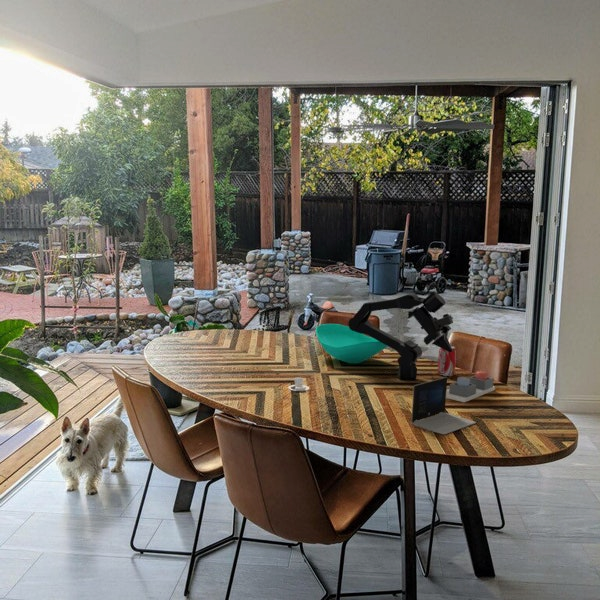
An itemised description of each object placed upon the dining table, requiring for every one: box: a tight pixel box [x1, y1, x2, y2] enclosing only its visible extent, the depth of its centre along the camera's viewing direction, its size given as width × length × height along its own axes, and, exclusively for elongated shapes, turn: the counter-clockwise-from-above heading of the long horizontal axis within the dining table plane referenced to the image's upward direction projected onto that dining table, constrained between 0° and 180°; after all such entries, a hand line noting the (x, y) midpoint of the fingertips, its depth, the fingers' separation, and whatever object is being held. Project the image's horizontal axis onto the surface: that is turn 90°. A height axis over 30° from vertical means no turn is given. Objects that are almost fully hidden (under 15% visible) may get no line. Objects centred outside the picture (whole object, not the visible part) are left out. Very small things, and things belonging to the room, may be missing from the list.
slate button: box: [456, 376, 470, 387], centre depth 236 cm, size 4×4×5 cm
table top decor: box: [315, 323, 388, 364], centre depth 284 cm, size 40×28×13 cm
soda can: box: [437, 345, 457, 377], centre depth 267 cm, size 7×7×12 cm
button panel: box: [446, 374, 496, 403], centre depth 242 cm, size 10×24×5 cm, turn 138°
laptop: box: [410, 376, 477, 436], centre depth 205 cm, size 18×12×13 cm
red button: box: [474, 370, 488, 380], centre depth 246 cm, size 4×4×5 cm
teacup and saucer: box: [287, 376, 310, 392], centre depth 240 cm, size 9×8×4 cm
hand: (451, 351), depth 250 cm, fingers closed
